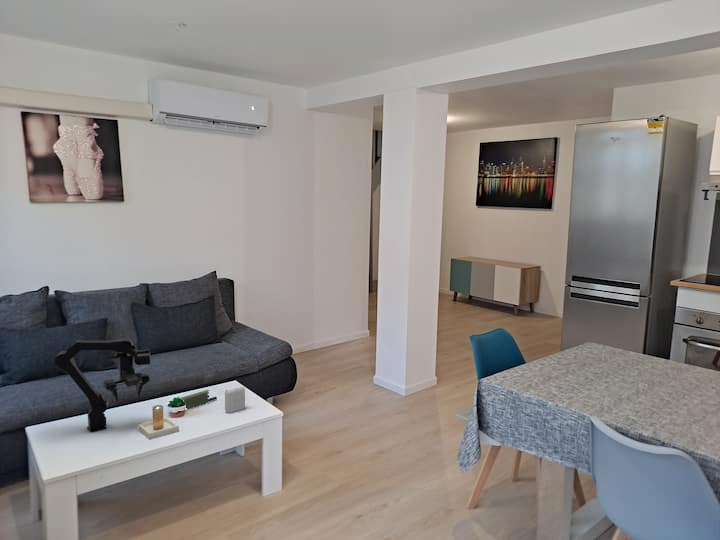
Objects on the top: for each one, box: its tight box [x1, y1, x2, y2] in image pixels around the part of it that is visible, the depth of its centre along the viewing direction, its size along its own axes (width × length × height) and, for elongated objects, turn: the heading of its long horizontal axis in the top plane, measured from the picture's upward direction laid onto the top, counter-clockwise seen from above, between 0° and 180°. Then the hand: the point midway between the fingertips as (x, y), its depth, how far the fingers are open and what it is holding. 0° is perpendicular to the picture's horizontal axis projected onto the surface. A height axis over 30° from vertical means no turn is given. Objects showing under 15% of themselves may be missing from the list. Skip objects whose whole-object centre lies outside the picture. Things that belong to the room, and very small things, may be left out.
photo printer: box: [224, 384, 246, 414], centre depth 260 cm, size 10×4×12 cm, turn 134°
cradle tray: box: [137, 417, 180, 440], centre depth 236 cm, size 13×13×2 cm
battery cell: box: [152, 404, 164, 431], centre depth 235 cm, size 4×4×10 cm
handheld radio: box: [179, 389, 218, 410], centre depth 265 cm, size 7×3×25 cm
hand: (127, 399), depth 240 cm, fingers open, 9 cm apart
